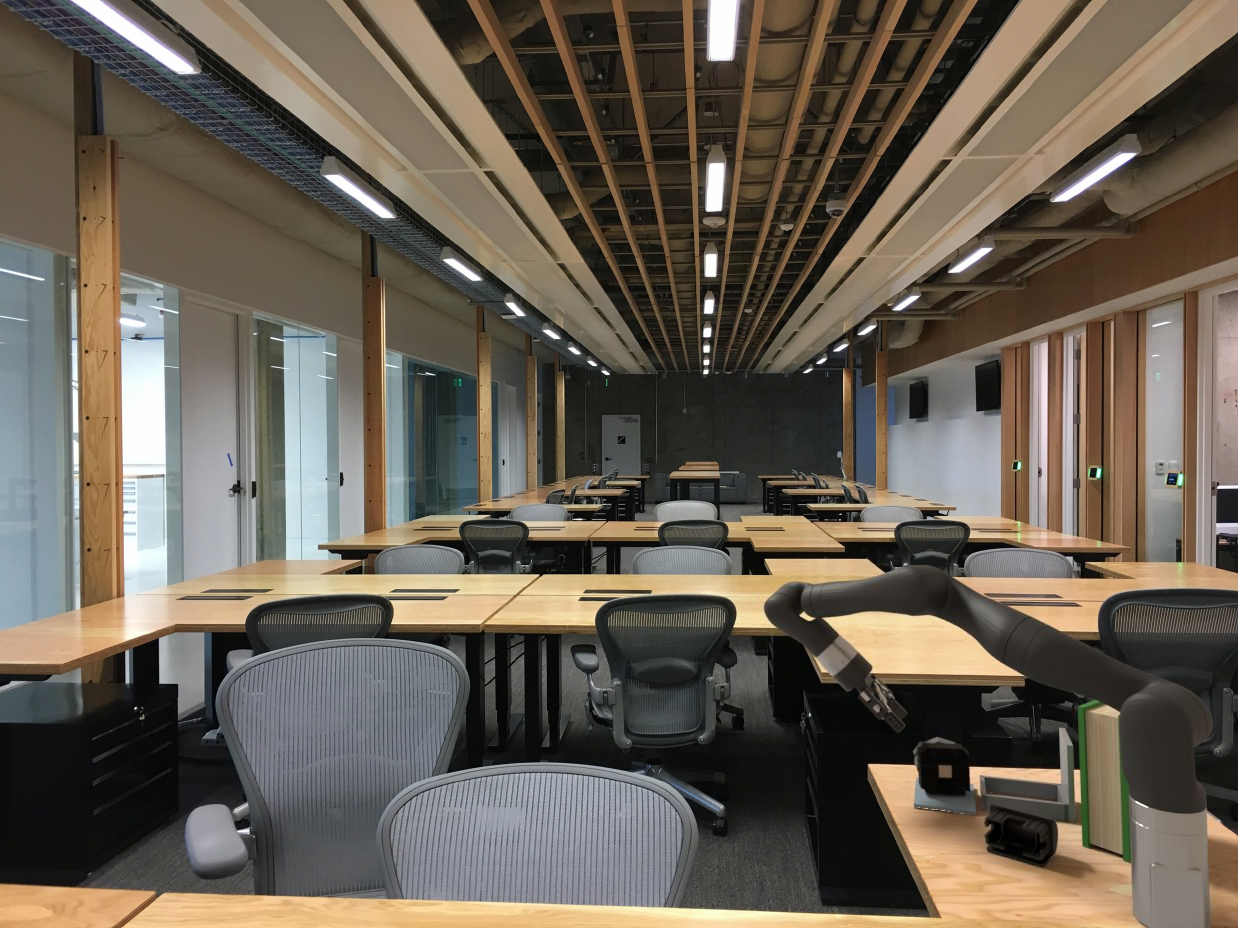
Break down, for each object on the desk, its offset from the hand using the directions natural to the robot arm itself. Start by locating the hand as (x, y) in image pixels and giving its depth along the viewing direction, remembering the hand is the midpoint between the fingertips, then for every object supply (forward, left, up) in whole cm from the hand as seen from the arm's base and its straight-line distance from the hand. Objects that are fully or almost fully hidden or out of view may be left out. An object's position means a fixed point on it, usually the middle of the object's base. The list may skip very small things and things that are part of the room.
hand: (903, 723), depth 162 cm
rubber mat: (0, -7, -14) cm, 16 cm away
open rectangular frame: (+1, -21, -14) cm, 26 cm away
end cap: (-20, -19, -14) cm, 31 cm away
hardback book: (-9, -37, -14) cm, 41 cm away
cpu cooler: (0, -7, -13) cm, 15 cm away
